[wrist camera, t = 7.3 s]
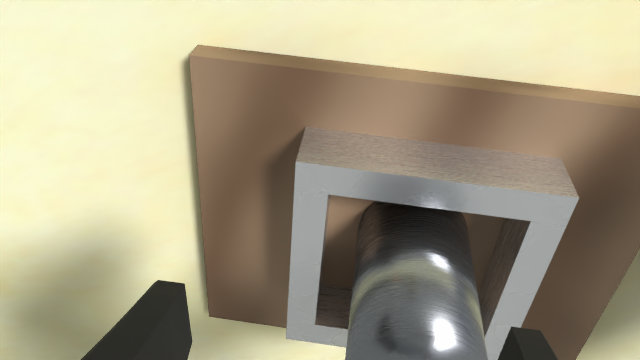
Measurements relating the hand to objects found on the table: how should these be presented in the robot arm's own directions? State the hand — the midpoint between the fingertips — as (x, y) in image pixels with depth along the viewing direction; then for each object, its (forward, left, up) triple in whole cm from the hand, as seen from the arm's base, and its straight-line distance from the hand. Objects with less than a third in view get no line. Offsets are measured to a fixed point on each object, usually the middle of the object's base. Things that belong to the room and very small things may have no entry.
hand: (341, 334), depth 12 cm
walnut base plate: (-3, +5, -10) cm, 12 cm away
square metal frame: (-3, +5, -9) cm, 11 cm away
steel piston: (-3, +5, -9) cm, 11 cm away
